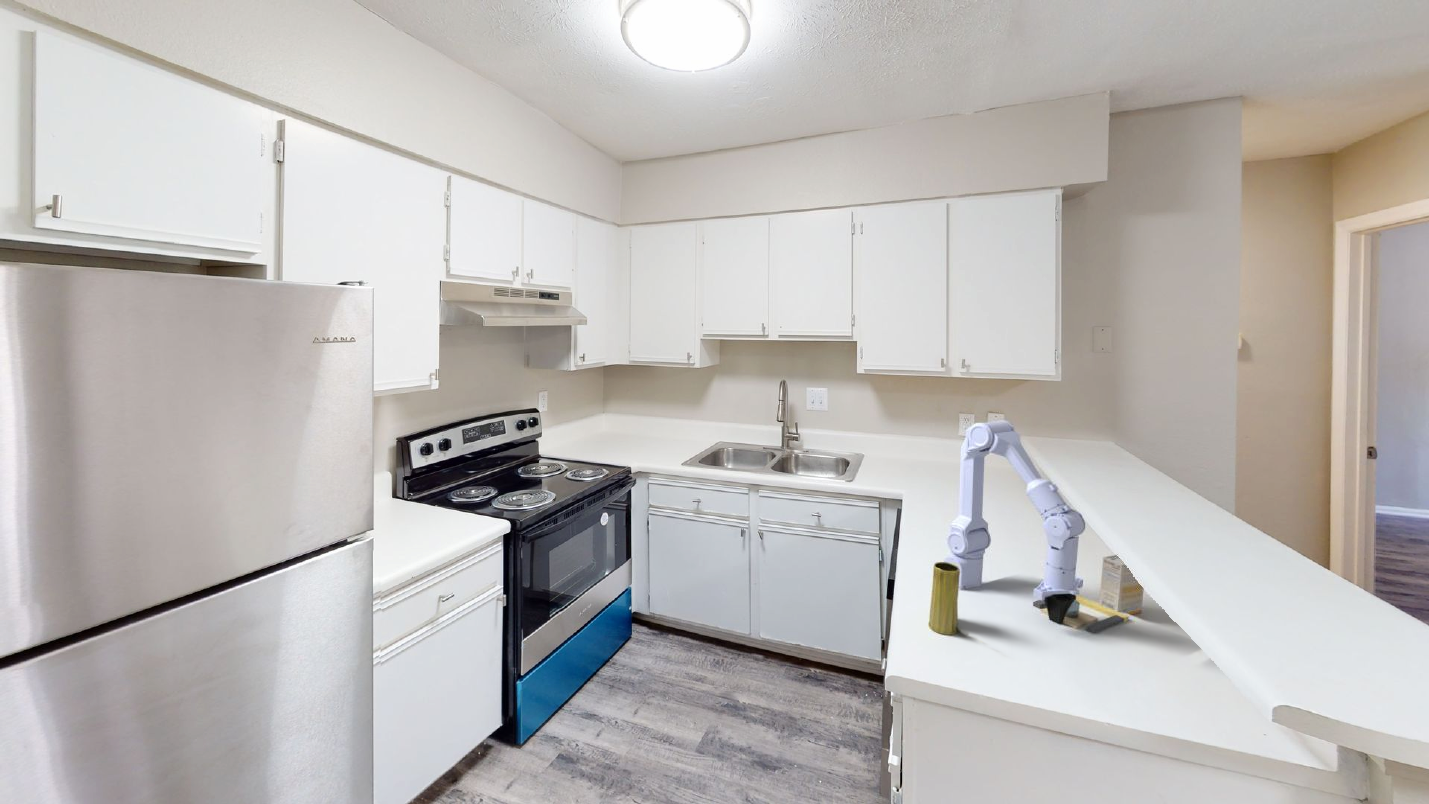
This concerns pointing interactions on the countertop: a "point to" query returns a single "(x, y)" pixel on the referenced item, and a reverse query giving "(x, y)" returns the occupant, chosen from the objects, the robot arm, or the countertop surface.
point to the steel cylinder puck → (1073, 610)
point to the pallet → (1076, 619)
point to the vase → (944, 598)
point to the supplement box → (1120, 587)
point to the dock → (1104, 624)
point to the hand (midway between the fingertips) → (1055, 623)
